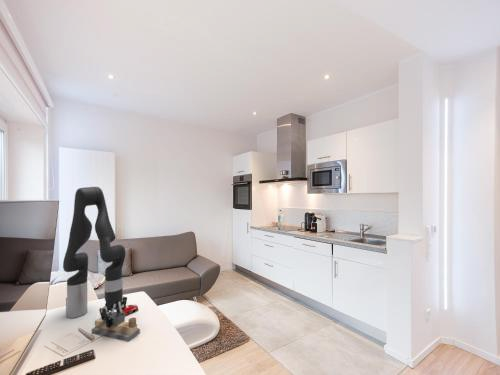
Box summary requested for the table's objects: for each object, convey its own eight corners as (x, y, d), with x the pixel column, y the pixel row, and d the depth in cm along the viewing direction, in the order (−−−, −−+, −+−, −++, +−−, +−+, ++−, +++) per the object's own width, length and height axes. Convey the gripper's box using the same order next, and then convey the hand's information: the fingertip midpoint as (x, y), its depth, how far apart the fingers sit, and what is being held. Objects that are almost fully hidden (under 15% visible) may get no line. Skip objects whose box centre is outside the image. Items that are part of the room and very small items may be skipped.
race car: (114, 321, 127) (114, 313, 127) (110, 318, 130) (110, 310, 130) (139, 311, 137) (139, 304, 137) (134, 308, 141) (134, 301, 141)
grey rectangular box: (103, 323, 115) (102, 316, 115) (112, 318, 120) (112, 311, 120) (116, 326, 112) (116, 318, 112) (124, 320, 117) (124, 313, 117)
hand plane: (91, 333, 116) (91, 316, 116) (104, 325, 122) (104, 309, 123) (129, 341, 109) (129, 323, 109) (140, 333, 115) (140, 316, 115)
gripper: (120, 281, 124) (120, 315, 124) (94, 293, 111) (94, 331, 110) (131, 283, 122) (132, 317, 122) (106, 295, 108) (106, 333, 108)
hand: (114, 323), depth 116 cm, fingers closed on grey rectangular box, 5 cm apart
